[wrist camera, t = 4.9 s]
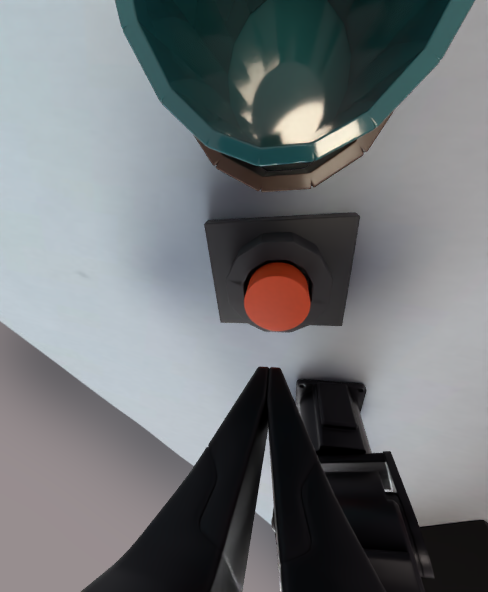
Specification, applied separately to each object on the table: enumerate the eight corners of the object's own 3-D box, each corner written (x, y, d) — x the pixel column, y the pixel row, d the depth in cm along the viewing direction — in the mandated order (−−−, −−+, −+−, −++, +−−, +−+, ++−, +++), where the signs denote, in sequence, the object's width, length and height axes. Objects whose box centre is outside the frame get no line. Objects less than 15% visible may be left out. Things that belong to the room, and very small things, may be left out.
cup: (345, 153, 13) (445, 149, 5) (231, 163, 15) (156, 176, 6) (367, -31, 10) (798, -1018, 2) (215, 2, 11) (1, -463, 3)
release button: (309, 261, 14) (312, 275, 13) (306, 313, 16) (308, 332, 15) (246, 262, 15) (241, 276, 13) (250, 312, 17) (246, 330, 15)
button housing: (356, 212, 15) (370, 223, 12) (339, 318, 19) (347, 343, 17) (207, 219, 17) (194, 231, 14) (223, 316, 21) (214, 338, 18)
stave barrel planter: (365, 176, 14) (391, 183, 11) (214, 188, 16) (194, 197, 12) (408, -91, 9) (480, -235, 6) (184, -34, 11) (138, -120, 7)
